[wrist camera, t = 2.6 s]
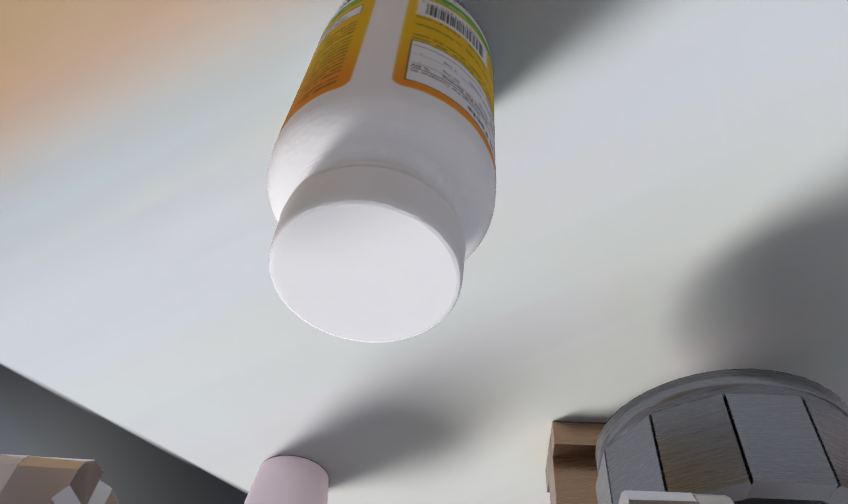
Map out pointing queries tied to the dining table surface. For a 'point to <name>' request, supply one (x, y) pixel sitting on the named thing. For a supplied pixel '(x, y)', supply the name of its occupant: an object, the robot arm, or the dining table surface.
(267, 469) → the smoothie
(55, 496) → the robot arm
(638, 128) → the dining table surface
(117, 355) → the dining table surface
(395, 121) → the supplement bottle
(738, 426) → the cup bracket
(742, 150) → the dining table surface
